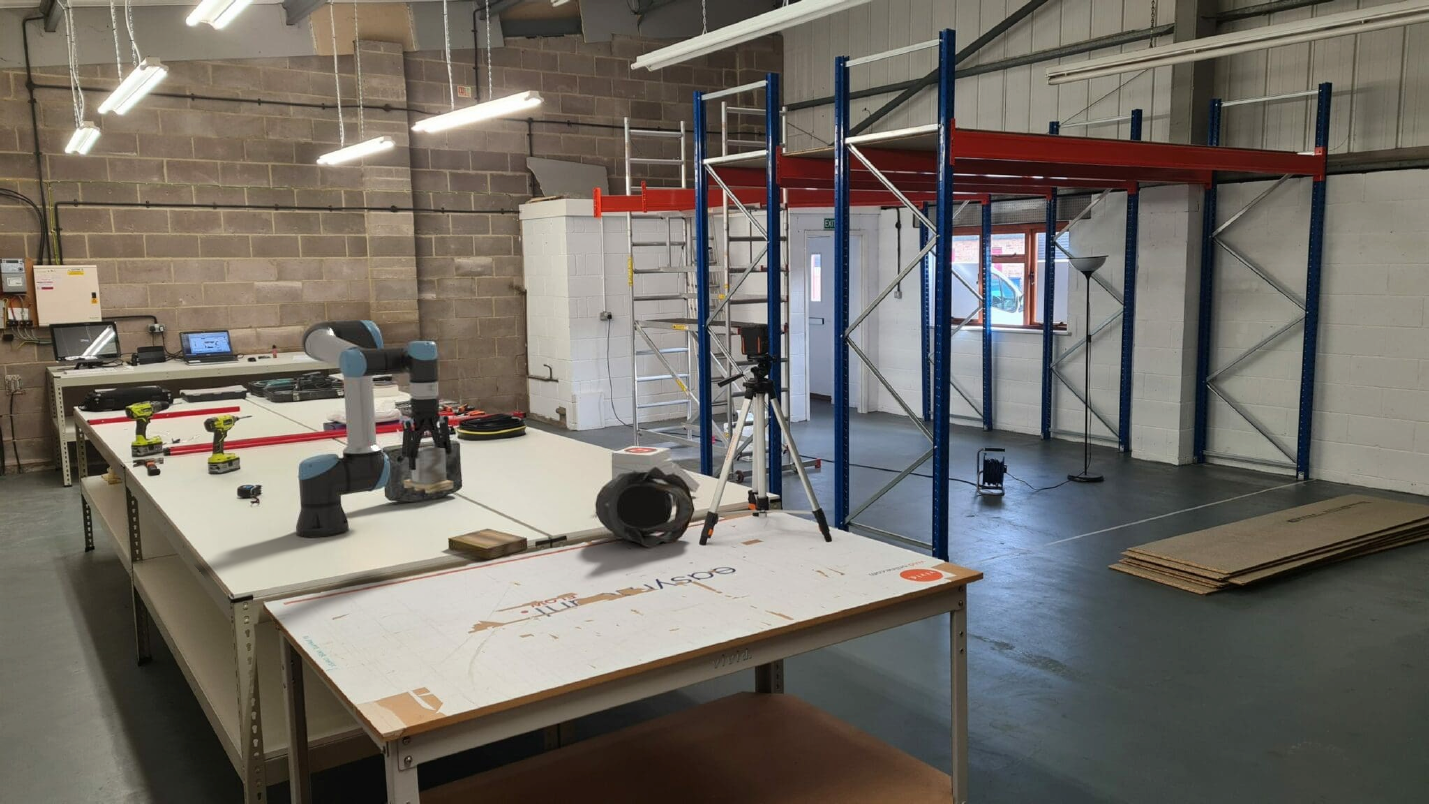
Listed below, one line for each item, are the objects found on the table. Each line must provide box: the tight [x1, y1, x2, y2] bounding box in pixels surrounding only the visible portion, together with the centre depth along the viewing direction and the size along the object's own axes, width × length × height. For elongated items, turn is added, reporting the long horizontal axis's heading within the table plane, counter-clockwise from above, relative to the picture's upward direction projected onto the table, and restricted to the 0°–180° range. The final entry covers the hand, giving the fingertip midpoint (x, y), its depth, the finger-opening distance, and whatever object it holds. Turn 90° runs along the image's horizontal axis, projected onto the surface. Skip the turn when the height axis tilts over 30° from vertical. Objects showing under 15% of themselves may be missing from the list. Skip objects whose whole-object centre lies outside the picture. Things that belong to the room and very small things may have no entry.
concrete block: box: [381, 439, 463, 503], centre depth 345 cm, size 27×9×20 cm, turn 125°
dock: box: [447, 528, 528, 560], centre depth 282 cm, size 14×18×3 cm
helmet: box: [595, 467, 695, 549], centre depth 290 cm, size 23×32×25 cm
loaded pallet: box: [403, 446, 453, 493], centre depth 273 cm, size 8×12×11 cm, turn 51°
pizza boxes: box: [611, 445, 700, 503], centre depth 343 cm, size 19×30×18 cm, turn 135°
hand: (428, 478), depth 274 cm, fingers closed on loaded pallet, 7 cm apart
